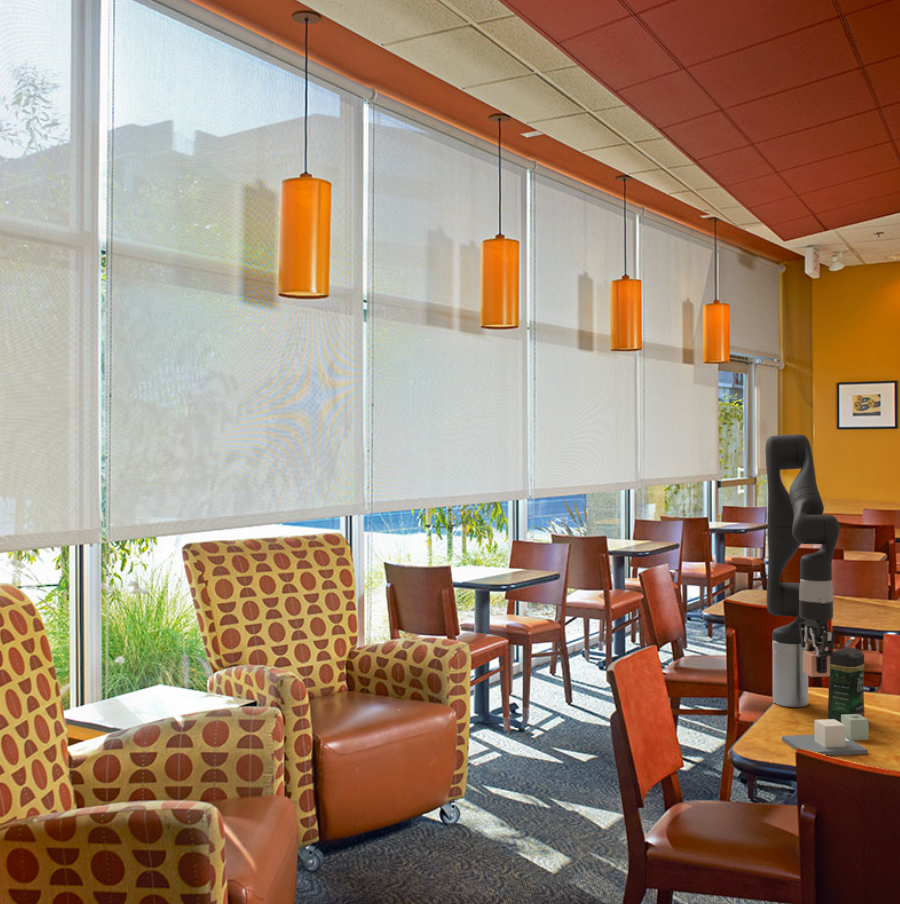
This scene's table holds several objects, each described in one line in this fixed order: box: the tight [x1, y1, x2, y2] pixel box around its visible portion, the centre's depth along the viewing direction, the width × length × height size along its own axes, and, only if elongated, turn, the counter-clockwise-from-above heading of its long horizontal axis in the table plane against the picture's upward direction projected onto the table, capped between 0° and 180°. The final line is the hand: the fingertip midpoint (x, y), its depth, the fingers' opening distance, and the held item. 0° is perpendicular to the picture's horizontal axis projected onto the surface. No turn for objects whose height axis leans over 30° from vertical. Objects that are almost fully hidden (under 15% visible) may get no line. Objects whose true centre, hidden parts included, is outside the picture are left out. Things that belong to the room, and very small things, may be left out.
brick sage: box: [841, 714, 869, 741], centre depth 227 cm, size 4×4×5 cm
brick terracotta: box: [803, 651, 830, 678], centre depth 221 cm, size 4×4×5 cm
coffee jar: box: [827, 646, 866, 723], centre depth 240 cm, size 10×8×19 cm
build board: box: [781, 718, 869, 757], centre depth 220 cm, size 12×15×6 cm
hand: (816, 669), depth 221 cm, fingers closed on brick terracotta, 4 cm apart
